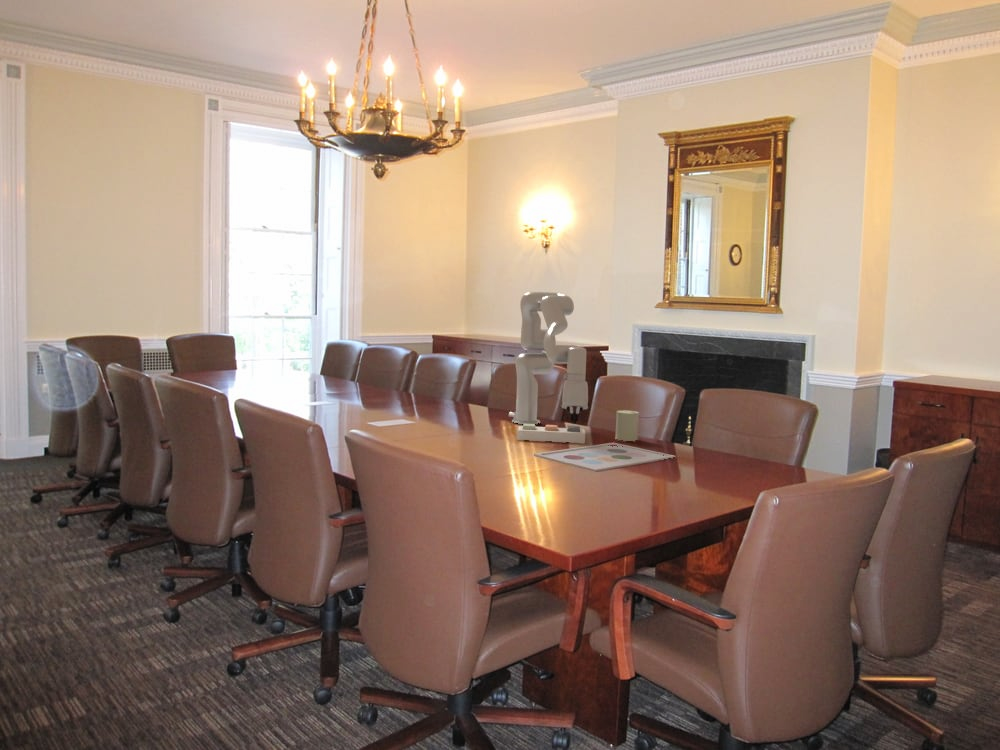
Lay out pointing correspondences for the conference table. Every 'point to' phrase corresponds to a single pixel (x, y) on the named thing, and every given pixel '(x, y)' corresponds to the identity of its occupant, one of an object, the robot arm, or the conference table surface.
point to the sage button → (529, 426)
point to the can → (627, 425)
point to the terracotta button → (551, 427)
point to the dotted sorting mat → (604, 456)
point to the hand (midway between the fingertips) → (574, 422)
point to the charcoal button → (574, 428)
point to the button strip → (551, 435)
